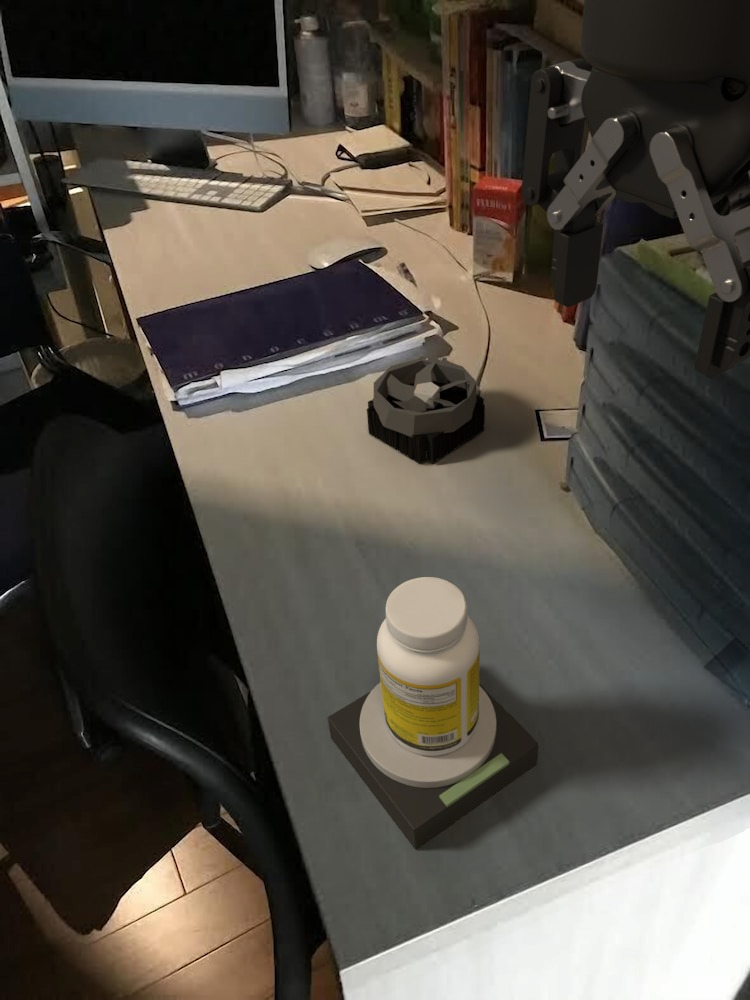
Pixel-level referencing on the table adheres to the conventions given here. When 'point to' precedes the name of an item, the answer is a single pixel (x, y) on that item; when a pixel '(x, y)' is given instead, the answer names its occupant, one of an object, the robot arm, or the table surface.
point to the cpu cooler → (425, 408)
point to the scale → (432, 764)
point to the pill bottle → (429, 667)
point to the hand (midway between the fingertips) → (639, 332)
